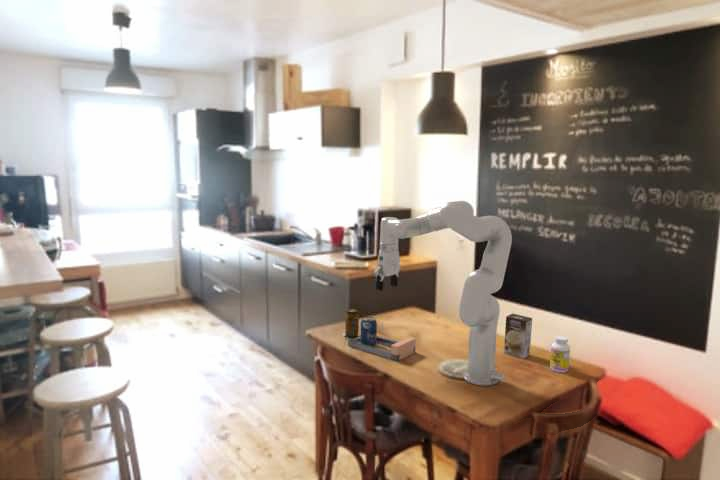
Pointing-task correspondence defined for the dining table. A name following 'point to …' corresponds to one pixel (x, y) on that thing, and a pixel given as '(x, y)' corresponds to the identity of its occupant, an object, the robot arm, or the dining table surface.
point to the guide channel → (374, 349)
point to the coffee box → (517, 335)
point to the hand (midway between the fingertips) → (386, 287)
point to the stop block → (403, 348)
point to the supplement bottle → (560, 354)
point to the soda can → (369, 331)
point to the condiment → (351, 325)
